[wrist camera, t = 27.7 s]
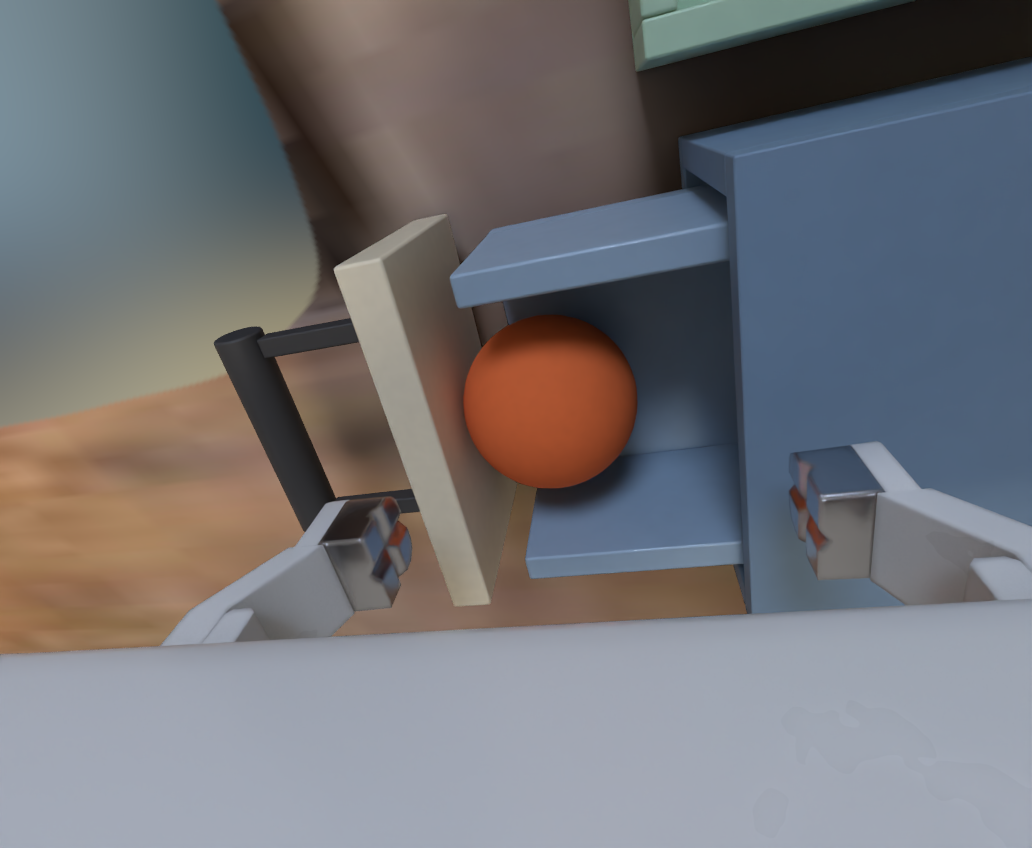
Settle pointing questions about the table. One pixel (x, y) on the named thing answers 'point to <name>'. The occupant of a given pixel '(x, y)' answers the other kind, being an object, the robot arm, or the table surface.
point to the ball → (550, 401)
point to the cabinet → (878, 302)
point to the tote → (727, 24)
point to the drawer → (455, 344)
